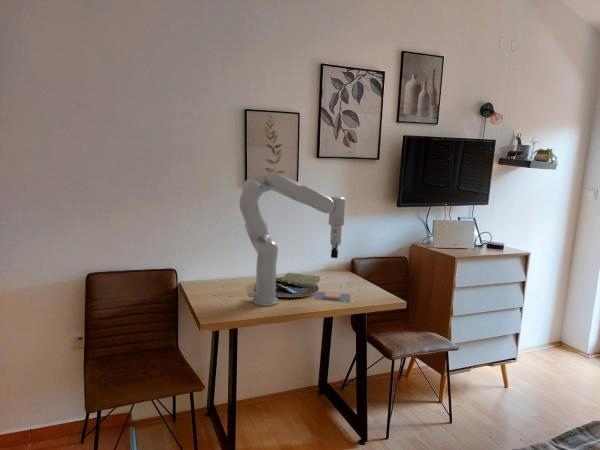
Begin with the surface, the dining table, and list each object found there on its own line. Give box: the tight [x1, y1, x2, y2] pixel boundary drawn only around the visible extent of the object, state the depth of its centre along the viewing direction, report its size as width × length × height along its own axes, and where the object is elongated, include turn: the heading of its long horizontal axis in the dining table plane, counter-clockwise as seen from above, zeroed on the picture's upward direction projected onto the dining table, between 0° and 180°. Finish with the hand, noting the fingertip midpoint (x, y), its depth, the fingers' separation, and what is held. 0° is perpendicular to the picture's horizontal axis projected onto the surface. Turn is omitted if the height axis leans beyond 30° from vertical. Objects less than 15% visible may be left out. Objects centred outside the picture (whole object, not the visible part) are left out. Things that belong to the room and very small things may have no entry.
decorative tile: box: [280, 272, 321, 288], centre depth 244 cm, size 19×20×4 cm
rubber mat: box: [313, 291, 352, 303], centre depth 220 cm, size 18×13×1 cm
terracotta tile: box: [324, 290, 342, 300], centre depth 219 cm, size 8×2×8 cm
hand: (334, 257), depth 217 cm, fingers closed
